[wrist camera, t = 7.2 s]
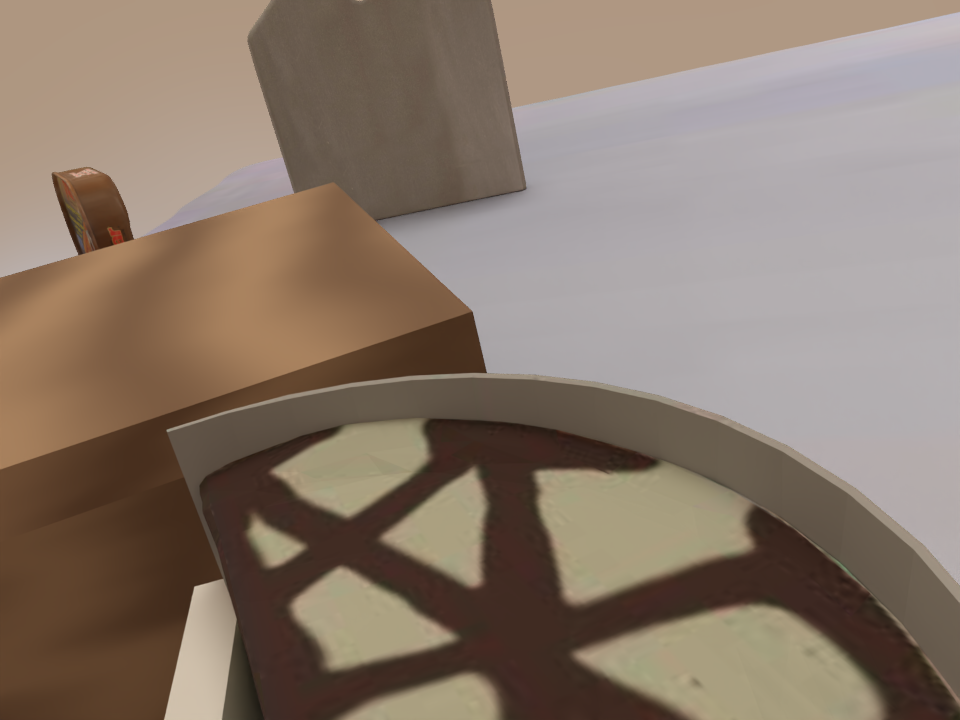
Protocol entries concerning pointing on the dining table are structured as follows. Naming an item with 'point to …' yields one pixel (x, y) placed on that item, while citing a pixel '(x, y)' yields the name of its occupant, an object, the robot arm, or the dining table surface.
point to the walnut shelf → (172, 421)
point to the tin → (92, 209)
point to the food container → (558, 561)
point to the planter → (389, 100)
